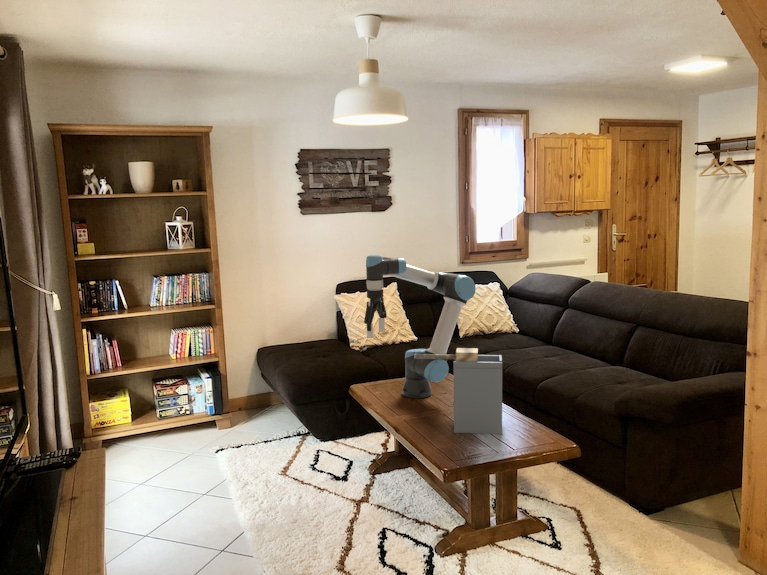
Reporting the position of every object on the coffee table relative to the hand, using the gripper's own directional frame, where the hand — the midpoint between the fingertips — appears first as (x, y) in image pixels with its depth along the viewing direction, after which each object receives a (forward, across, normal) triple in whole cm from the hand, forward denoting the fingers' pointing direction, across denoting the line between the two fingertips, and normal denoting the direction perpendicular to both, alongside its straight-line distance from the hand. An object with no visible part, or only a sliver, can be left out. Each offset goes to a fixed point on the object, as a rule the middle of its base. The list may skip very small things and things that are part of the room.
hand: (376, 334), depth 284 cm
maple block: (+9, +8, +36) cm, 38 cm away
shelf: (+37, +4, +49) cm, 61 cm away
